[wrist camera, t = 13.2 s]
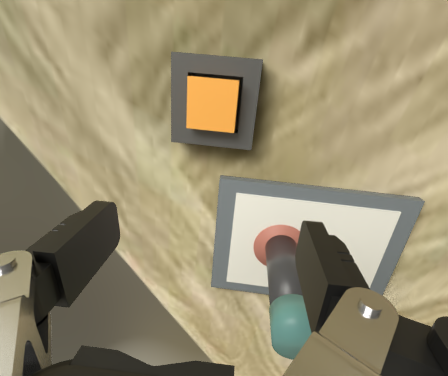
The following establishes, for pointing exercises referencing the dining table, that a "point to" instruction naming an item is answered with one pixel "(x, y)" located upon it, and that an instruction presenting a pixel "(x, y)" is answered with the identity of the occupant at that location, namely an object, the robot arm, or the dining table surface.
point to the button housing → (223, 69)
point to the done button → (212, 103)
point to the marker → (285, 298)
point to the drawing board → (291, 224)
